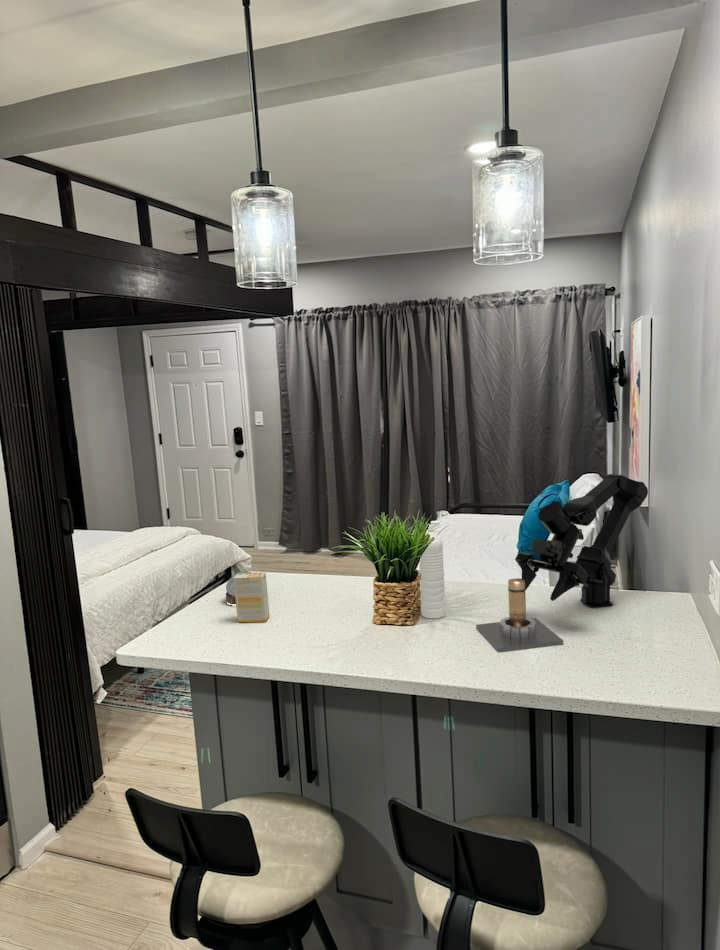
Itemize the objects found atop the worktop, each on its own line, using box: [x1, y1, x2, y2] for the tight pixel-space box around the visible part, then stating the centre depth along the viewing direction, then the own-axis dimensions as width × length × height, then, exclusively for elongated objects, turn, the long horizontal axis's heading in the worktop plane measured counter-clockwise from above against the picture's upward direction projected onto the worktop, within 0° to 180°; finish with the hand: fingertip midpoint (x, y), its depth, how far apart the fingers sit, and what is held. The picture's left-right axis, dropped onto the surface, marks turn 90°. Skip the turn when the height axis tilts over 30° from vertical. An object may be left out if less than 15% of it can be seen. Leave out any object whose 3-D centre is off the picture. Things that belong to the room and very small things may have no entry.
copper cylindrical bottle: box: [507, 577, 527, 627], centre depth 170 cm, size 4×4×13 cm
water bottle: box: [418, 520, 447, 620], centre depth 189 cm, size 9×6×25 cm
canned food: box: [225, 570, 253, 604], centre depth 211 cm, size 11×10×10 cm
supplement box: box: [233, 571, 270, 623], centre depth 193 cm, size 8×5×13 cm, turn 84°
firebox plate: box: [475, 616, 564, 653], centre depth 171 cm, size 16×16×4 cm
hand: (536, 595), depth 175 cm, fingers open, 9 cm apart
